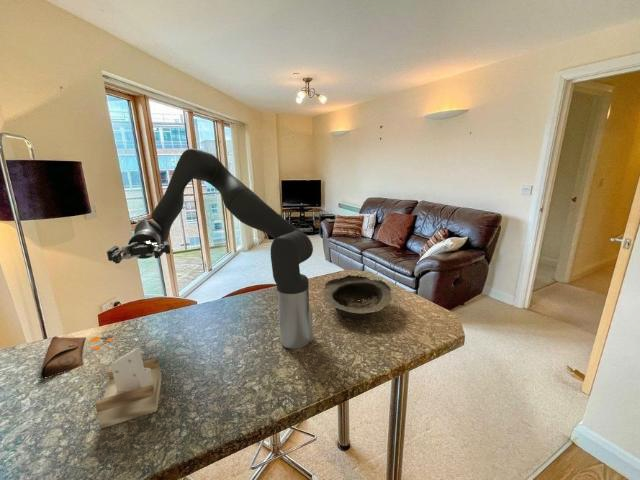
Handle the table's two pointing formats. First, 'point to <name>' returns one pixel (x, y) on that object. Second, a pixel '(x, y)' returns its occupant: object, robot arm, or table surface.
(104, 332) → the key chain
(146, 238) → the robot arm
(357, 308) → the stone bowl
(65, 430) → the table surface
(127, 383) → the white angled block
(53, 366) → the sunglasses case
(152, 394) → the wooden step block
